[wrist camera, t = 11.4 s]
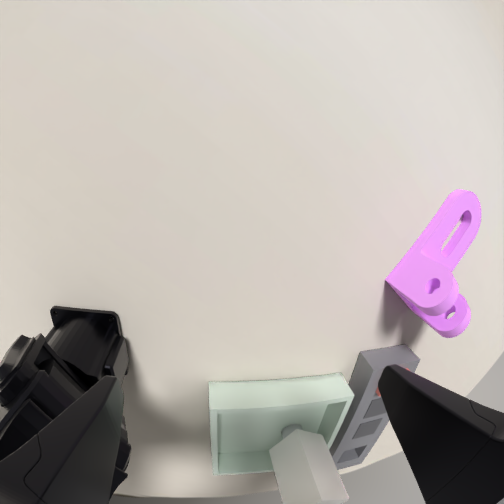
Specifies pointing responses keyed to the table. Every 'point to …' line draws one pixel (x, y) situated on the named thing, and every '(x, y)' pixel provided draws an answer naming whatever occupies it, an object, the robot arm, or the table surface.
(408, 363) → the power strip
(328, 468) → the white long block
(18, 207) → the table surface
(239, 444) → the tray
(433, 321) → the bracket
